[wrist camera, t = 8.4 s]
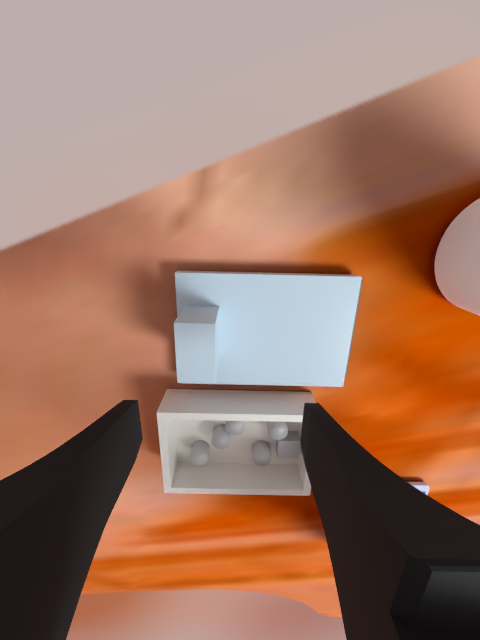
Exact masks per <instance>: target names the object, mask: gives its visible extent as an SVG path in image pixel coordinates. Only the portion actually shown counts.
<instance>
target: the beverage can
mask: <svg viewBox="0 0 480 640" xmlns="http://www.w3.org/2000/svg"><path fill="white" fill-rule="evenodd" d="M434 270H435V278H436V282H437V285H438V287H439V289H440V291H441V293H442V294H443V296H444V297H445V298H446V299H447V300H448V301H449V302H451V303H452V304H453V305H455V306H457V307H459V308H461V309H464V310H466V311H469V312H471V313H474V314H477V315H479V316H480V198H479V199H477V200H476V201H474V202H473V203H471V204H470V205H469V206H467V207H466V208H465V209H464V210H463V211H462V212H461V213H460V214H459V215H458V216H457V217H456V218H455V219H454V220H453V221H452V223H451V224H450V225H449V227H448V228H447V230H446V231H445V233H444V235H443V237H442V239H441V241H440V243H439V246H438V249H437V252H436V256H435V265H434Z"/></svg>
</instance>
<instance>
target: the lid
mask: <svg viewBox="0 0 480 640" xmlns="http://www.w3.org/2000/svg"><path fill="white" fill-rule="evenodd" d="M361 279H362V277H361V276H359V275H350V274H306V273H262V272H217V271H176V272H175V287H176V305H177V319H176V320H175V322H174V337H175V353H176V369H177V383H186V384H234V385H283V386H332V387H343V384H344V378H345V373H346V367H347V361H348V355H349V349H350V343H351V338H352V332H353V326H354V320H355V314H356V308H357V303H358V297H359V291H360V285H361Z"/></svg>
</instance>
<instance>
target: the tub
mask: <svg viewBox="0 0 480 640" xmlns="http://www.w3.org/2000/svg"><path fill="white" fill-rule="evenodd" d="M304 403H316V401H315V399H314V396H313V394H312V392H299V391H248V390H197V389H167V390H166V392H165V394H164V397H163V399H162V401H161V403H160V406H159V408H158V410H157V423H158V433H159V443H160V454H161V464H162V474H163V485H164V493H186V494H242V495H299V496H310V491H311V484H310V481H309V478H308V474H307V471H306V468H305V464H304V459H303V454H302V448H301V443H300V438H301V429H302V420H303V411H304Z"/></svg>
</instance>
